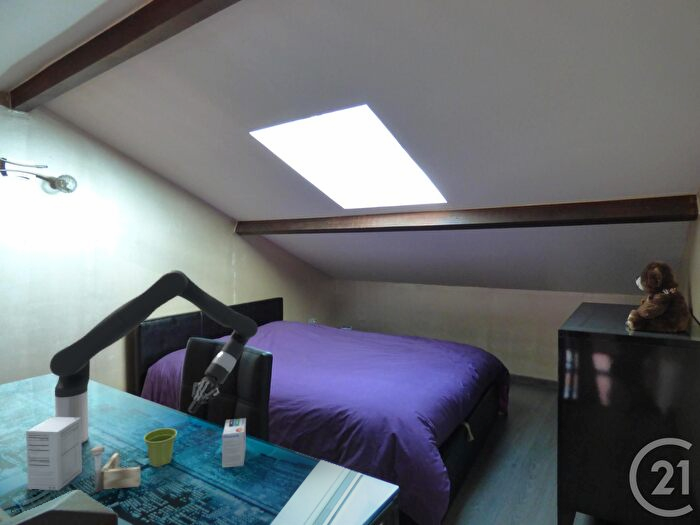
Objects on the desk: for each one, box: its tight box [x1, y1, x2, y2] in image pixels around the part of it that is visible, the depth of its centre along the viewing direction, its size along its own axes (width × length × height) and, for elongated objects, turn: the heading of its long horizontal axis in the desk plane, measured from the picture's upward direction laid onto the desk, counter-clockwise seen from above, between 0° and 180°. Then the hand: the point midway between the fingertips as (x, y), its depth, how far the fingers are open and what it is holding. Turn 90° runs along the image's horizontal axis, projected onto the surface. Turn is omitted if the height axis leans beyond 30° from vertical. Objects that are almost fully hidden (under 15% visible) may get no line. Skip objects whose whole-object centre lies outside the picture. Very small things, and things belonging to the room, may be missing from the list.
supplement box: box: [25, 416, 83, 491], centre depth 113 cm, size 10×9×17 cm
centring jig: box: [90, 445, 141, 493], centre depth 111 cm, size 14×10×12 cm
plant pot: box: [143, 428, 178, 467], centre depth 123 cm, size 9×9×9 cm
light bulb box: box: [221, 417, 247, 468], centre depth 126 cm, size 11×7×11 cm, turn 12°
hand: (190, 412), depth 131 cm, fingers closed
